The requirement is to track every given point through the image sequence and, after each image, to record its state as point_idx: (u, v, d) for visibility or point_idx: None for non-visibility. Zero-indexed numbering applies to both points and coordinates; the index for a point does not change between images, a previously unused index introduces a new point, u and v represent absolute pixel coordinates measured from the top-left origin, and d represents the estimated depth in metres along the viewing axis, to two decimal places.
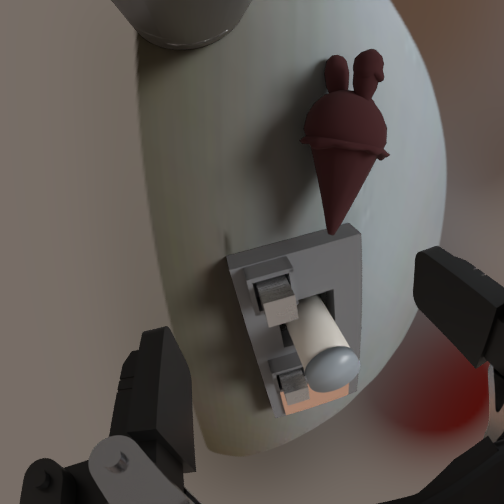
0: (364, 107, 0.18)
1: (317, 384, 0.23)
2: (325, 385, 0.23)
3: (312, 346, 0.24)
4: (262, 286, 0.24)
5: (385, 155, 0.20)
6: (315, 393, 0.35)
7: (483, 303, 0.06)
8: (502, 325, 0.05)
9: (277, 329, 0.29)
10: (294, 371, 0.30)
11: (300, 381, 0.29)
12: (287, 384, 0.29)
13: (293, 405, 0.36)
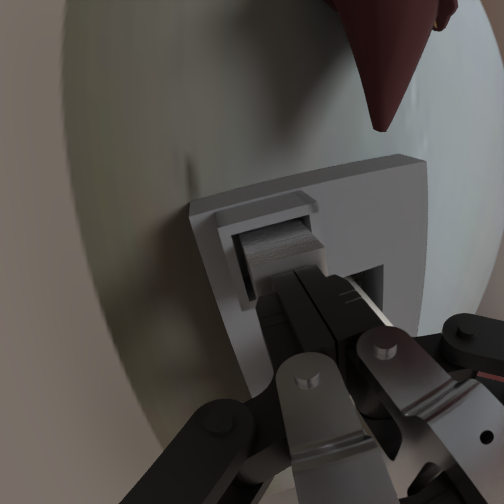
0: None
1: None
2: None
3: None
4: (251, 238, 0.11)
5: (453, 0, 0.07)
6: None
7: (330, 333, 0.07)
8: (350, 360, 0.06)
9: None
10: None
11: None
12: None
13: None
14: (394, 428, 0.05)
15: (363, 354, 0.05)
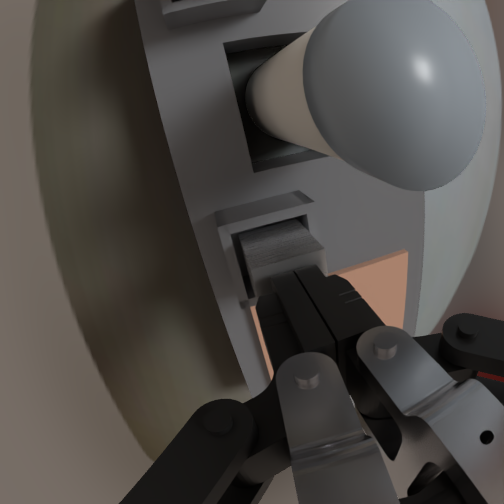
0: None
1: (365, 108, 0.05)
2: (399, 138, 0.05)
3: (316, 26, 0.06)
4: None
5: None
6: None
7: (330, 333, 0.07)
8: (350, 360, 0.06)
9: (232, 109, 0.11)
10: (282, 228, 0.12)
11: (299, 241, 0.10)
12: (260, 250, 0.10)
13: None
14: (394, 428, 0.05)
15: (363, 354, 0.05)
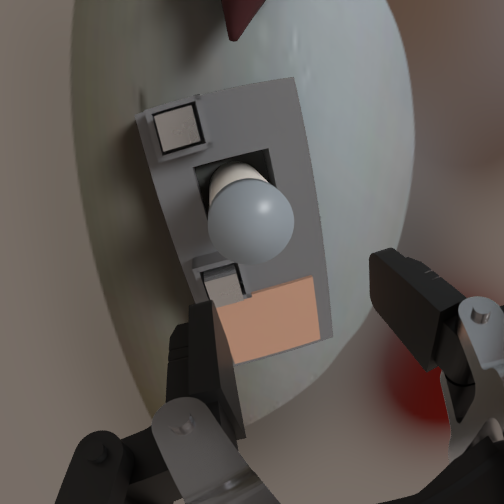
0: None
1: (224, 240, 0.16)
2: (241, 247, 0.17)
3: (219, 189, 0.17)
4: None
5: None
6: (270, 328, 0.28)
7: (428, 306, 0.06)
8: (448, 329, 0.06)
9: (199, 205, 0.23)
10: None
11: (227, 269, 0.23)
12: (210, 273, 0.23)
13: (242, 347, 0.29)
14: (468, 397, 0.05)
15: (463, 314, 0.05)
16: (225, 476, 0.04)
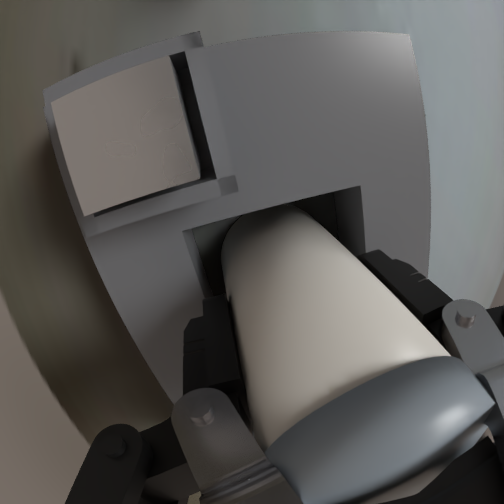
0: None
1: None
2: None
3: (283, 373, 0.05)
4: None
5: None
6: None
7: (412, 309, 0.07)
8: (432, 333, 0.06)
9: (202, 312, 0.10)
10: None
11: None
12: None
13: None
14: None
15: (447, 318, 0.06)
16: (243, 468, 0.04)
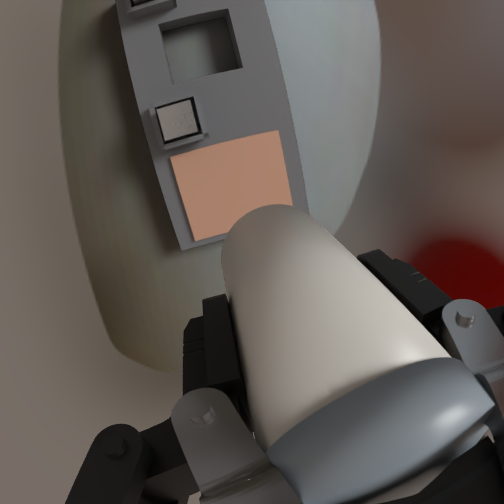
0: None
1: None
2: None
3: (283, 374, 0.05)
4: None
5: None
6: (234, 192, 0.25)
7: (412, 309, 0.07)
8: (432, 333, 0.06)
9: (162, 54, 0.20)
10: None
11: None
12: None
13: (202, 216, 0.26)
14: None
15: (447, 318, 0.06)
16: (243, 468, 0.04)
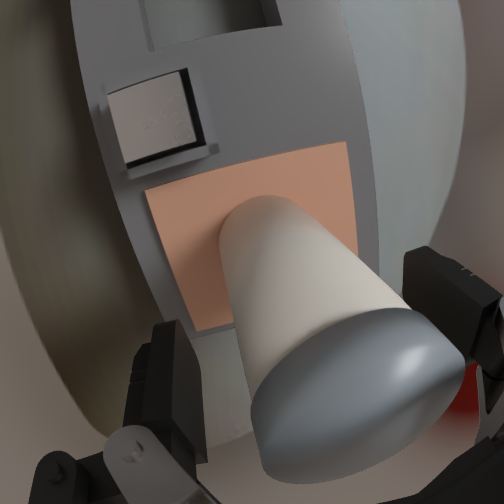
0: None
1: (303, 468, 0.05)
2: (338, 465, 0.05)
3: (271, 324, 0.06)
4: None
5: None
6: None
7: (470, 303, 0.06)
8: (489, 325, 0.05)
9: (132, 2, 0.09)
10: None
11: None
12: None
13: (208, 293, 0.15)
14: (500, 391, 0.05)
15: (503, 307, 0.05)
16: (179, 500, 0.03)
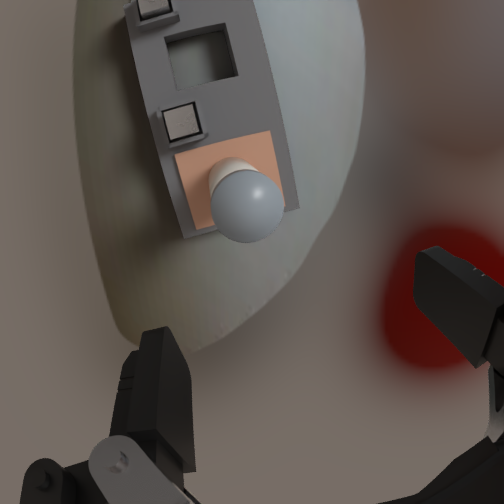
0: None
1: (226, 222, 0.19)
2: (240, 228, 0.19)
3: (218, 180, 0.20)
4: None
5: None
6: None
7: (483, 303, 0.06)
8: (502, 325, 0.05)
9: (167, 64, 0.23)
10: None
11: None
12: None
13: (203, 207, 0.29)
14: None
15: None
16: None
